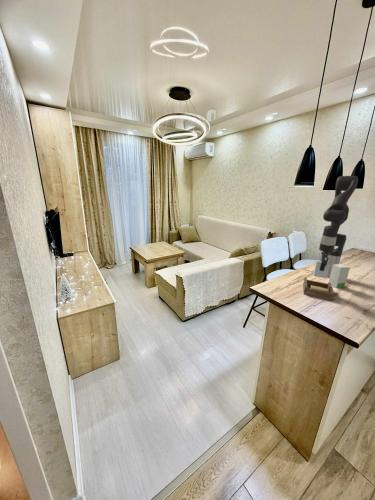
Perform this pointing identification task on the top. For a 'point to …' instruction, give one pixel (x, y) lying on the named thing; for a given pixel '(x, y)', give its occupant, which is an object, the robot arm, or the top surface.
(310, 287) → the offcut upper
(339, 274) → the skincare box
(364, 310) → the top surface
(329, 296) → the rack
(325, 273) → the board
